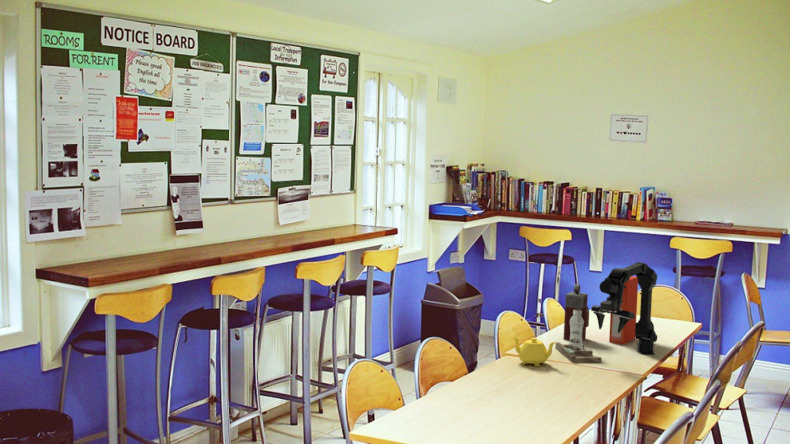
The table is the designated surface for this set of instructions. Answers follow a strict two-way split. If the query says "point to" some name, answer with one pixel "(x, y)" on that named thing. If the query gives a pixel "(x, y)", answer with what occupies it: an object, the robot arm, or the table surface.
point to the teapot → (533, 351)
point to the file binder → (627, 305)
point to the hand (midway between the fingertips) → (609, 331)
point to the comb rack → (576, 354)
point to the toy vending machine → (576, 303)
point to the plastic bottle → (576, 331)
